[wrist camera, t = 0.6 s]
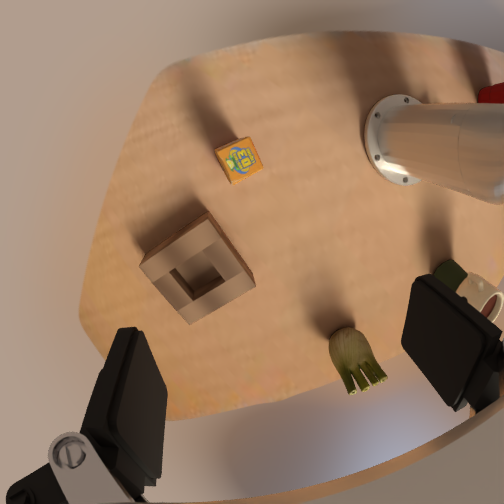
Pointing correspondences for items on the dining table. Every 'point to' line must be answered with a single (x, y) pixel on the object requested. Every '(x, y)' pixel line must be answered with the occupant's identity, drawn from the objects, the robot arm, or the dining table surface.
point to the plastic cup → (492, 94)
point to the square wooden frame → (198, 269)
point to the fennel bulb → (354, 359)
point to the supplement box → (239, 159)
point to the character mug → (471, 289)
